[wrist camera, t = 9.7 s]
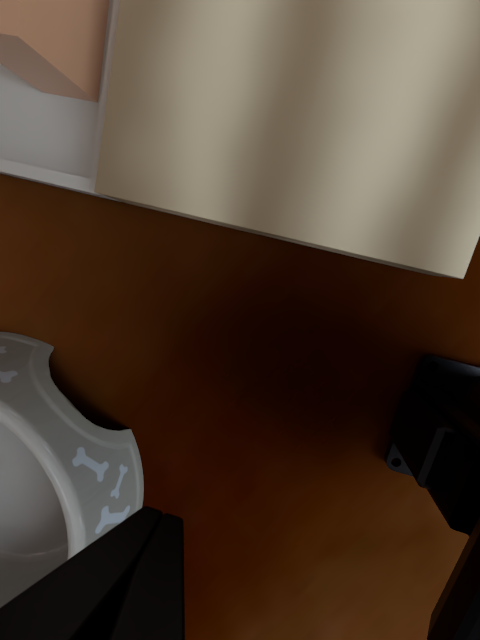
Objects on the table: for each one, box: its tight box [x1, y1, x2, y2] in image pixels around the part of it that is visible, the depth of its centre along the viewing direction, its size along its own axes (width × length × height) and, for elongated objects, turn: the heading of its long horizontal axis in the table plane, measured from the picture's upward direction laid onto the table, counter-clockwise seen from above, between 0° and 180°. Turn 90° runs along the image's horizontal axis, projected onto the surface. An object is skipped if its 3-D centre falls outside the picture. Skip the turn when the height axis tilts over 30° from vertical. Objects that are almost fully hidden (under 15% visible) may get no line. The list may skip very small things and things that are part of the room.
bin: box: [0, 0, 121, 202], centre depth 16 cm, size 9×14×2 cm
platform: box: [94, 0, 480, 279], centre depth 14 cm, size 16×14×3 cm
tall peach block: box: [0, 0, 109, 103], centre depth 14 cm, size 5×5×3 cm
